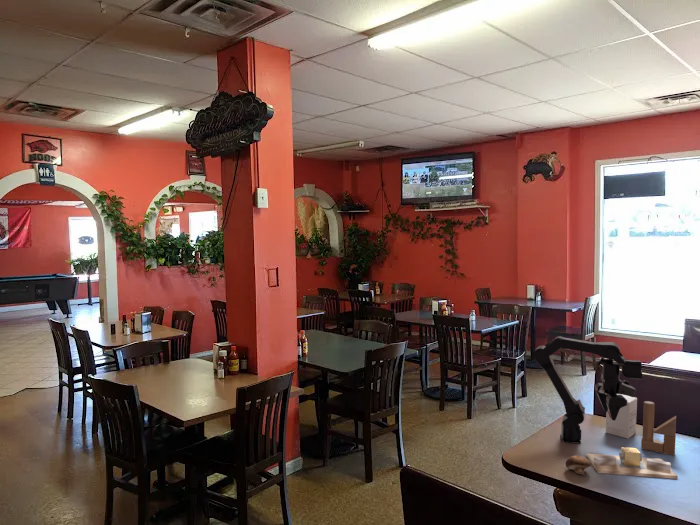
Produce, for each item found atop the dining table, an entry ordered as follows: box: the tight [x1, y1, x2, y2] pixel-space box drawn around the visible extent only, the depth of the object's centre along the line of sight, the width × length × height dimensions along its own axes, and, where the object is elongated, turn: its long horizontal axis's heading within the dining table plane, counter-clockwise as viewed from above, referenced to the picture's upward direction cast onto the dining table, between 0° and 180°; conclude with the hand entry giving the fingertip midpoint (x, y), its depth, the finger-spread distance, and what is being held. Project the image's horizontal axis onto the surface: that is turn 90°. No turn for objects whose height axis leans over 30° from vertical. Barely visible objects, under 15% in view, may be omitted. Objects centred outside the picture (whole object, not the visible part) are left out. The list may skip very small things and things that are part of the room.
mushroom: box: [565, 455, 592, 476], centre depth 177 cm, size 8×8×6 cm
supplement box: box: [605, 393, 638, 440], centre depth 210 cm, size 9×9×15 cm
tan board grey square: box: [586, 453, 678, 480], centre depth 181 cm, size 25×13×3 cm, turn 80°
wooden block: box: [640, 400, 677, 457], centre depth 193 cm, size 4×11×18 cm, turn 55°
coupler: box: [618, 446, 642, 467], centre depth 180 cm, size 7×4×5 cm, turn 80°
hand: (609, 415), depth 197 cm, fingers open, 9 cm apart
